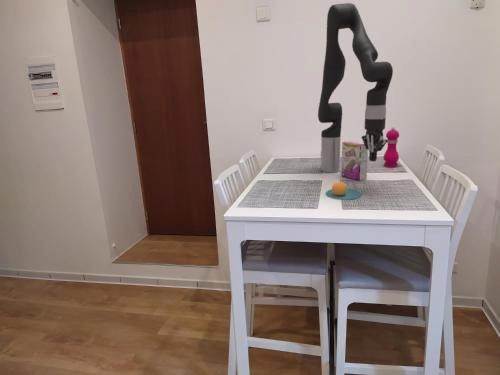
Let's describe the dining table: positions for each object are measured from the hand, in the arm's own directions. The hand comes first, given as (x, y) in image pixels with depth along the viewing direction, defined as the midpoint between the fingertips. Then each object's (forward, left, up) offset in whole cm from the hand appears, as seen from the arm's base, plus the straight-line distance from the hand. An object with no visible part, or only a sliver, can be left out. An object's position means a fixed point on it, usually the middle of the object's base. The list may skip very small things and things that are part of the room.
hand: (372, 160), depth 135 cm
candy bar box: (-18, +4, -12) cm, 22 cm away
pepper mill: (-27, +32, -12) cm, 43 cm away
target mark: (0, -13, -12) cm, 18 cm away
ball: (+1, -16, -9) cm, 18 cm away
